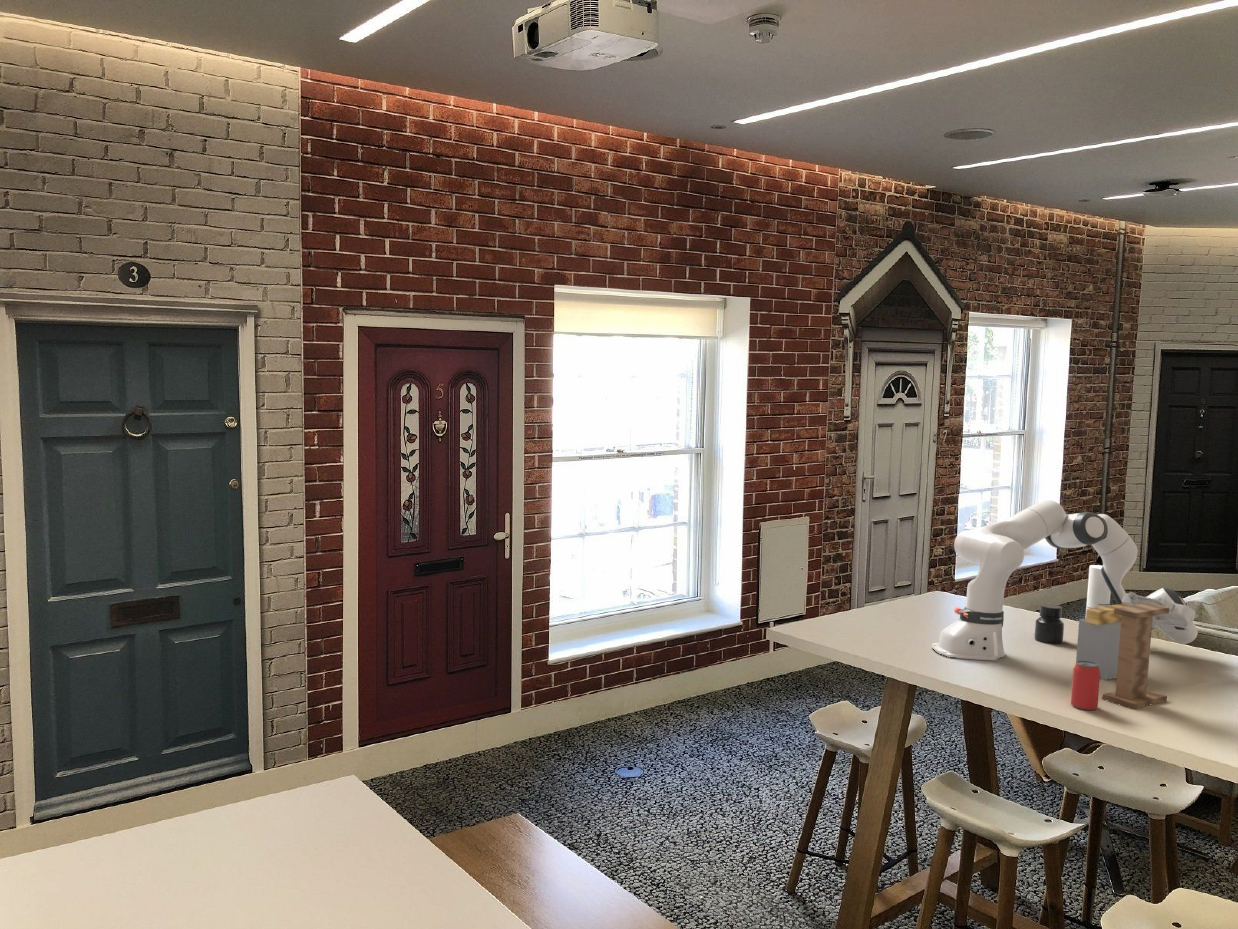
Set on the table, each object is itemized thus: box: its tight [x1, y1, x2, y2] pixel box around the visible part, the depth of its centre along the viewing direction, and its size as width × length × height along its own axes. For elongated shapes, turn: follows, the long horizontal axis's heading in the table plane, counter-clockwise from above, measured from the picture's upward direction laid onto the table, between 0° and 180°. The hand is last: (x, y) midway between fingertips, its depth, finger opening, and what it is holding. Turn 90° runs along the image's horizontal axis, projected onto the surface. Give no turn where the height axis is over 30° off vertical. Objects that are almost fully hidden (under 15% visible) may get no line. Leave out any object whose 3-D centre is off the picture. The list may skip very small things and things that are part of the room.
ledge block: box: [1075, 617, 1121, 681], centre depth 297 cm, size 14×10×16 cm
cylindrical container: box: [1085, 564, 1112, 612], centre depth 338 cm, size 7×7×25 cm
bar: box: [1085, 603, 1133, 625], centre depth 297 cm, size 19×4×4 cm, turn 121°
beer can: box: [1070, 661, 1101, 711], centre depth 264 cm, size 7×7×12 cm
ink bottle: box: [1034, 603, 1065, 644], centre depth 333 cm, size 10×9×12 cm
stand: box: [1101, 603, 1169, 710], centre depth 270 cm, size 16×9×26 cm, turn 121°
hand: (1145, 597), depth 305 cm, fingers open, 8 cm apart
